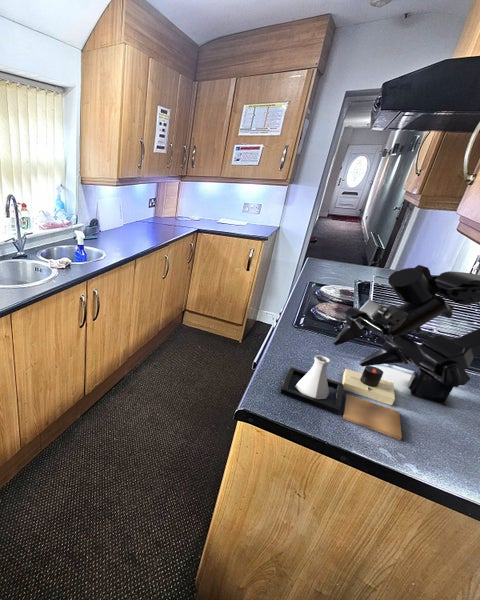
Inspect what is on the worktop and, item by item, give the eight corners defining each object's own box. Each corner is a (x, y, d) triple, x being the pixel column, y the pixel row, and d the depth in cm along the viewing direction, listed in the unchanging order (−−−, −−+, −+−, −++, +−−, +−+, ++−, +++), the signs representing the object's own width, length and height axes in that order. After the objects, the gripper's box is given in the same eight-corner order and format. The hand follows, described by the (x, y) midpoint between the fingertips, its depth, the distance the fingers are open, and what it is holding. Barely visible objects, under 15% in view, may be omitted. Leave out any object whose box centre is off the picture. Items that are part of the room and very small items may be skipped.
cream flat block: (390, 389, 86) (393, 382, 85) (391, 405, 80) (395, 398, 79) (343, 374, 91) (345, 368, 90) (341, 388, 86) (344, 382, 85)
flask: (288, 386, 87) (298, 354, 83) (307, 379, 89) (317, 348, 85) (316, 403, 81) (328, 370, 77) (334, 395, 83) (347, 363, 79)
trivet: (398, 414, 77) (399, 411, 77) (400, 440, 70) (401, 437, 70) (345, 396, 83) (346, 393, 83) (342, 418, 76) (343, 416, 76)
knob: (360, 376, 87) (365, 363, 85) (377, 382, 85) (383, 368, 83) (359, 383, 85) (365, 369, 83) (377, 388, 82) (384, 375, 81)
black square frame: (342, 388, 86) (344, 384, 85) (338, 415, 77) (340, 410, 76) (288, 370, 93) (289, 366, 92) (279, 393, 84) (281, 388, 84)
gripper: (364, 277, 82) (306, 315, 87) (434, 309, 65) (357, 354, 70) (385, 306, 84) (328, 342, 89) (458, 344, 67) (382, 385, 72)
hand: (346, 353), depth 80 cm, fingers open, 9 cm apart
